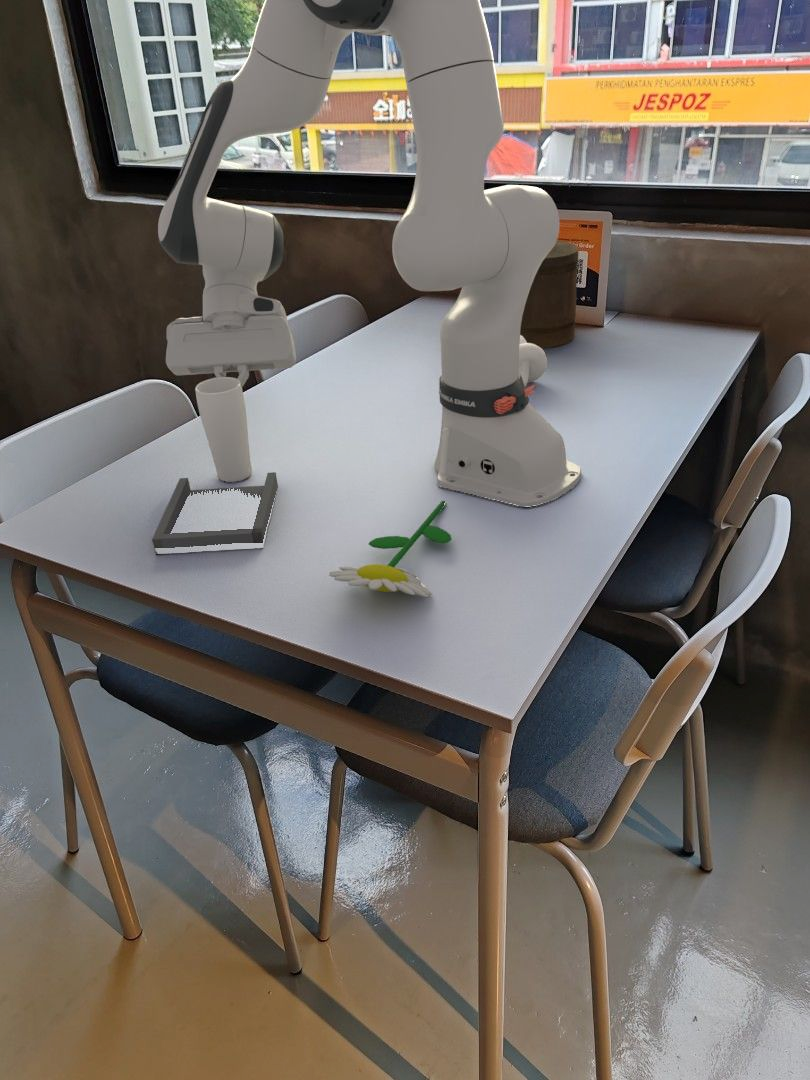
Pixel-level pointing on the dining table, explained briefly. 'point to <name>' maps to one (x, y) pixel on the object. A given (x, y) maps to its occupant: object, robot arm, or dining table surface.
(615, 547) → the dining table surface
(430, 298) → the dining table surface
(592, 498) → the dining table surface
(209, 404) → the drinking glass
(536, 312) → the wooden container
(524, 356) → the white rounded piece
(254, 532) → the tray
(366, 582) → the decorative flower
